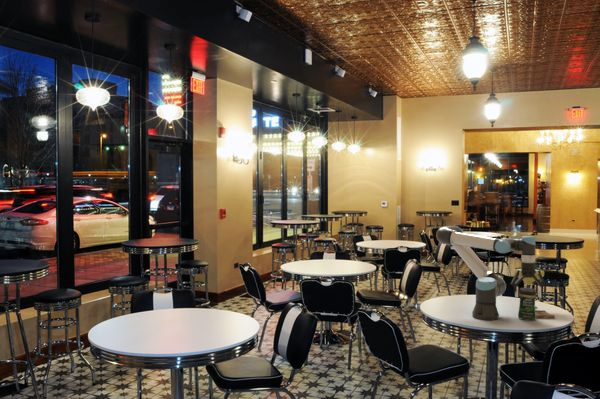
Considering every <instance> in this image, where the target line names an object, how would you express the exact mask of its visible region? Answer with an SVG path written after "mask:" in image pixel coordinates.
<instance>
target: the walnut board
mask: <svg viewBox="0 0 600 399" xmlns="http://www.w3.org/2000/svg"><path fill="white" fill-rule="evenodd" d="M535 314H536V319H556V318H555V315H554V314H550V313H549V312H547V311H546V310H540V309H539V310H537V309H535Z"/></svg>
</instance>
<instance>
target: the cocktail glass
mask: <svg viewBox="0 0 600 399" xmlns="http://www.w3.org/2000/svg"><path fill="white" fill-rule="evenodd" d="M521 269H522V267H516V268H514V275H515V274H516V270H521ZM536 270H540V271H541V275H542V277H544V276H545V270H544V269H542V268H536V267H535V271H536ZM521 275H522V273H520V274H519V276H518V278H519V277H520V276H521ZM534 275H535V276H536V278H537V279H538V280H539V281H540V279H539V277H538V274H537V273H535V274H534ZM522 281H524V282H525V283H526V285H527V286H528V287H527V288H530V286H531V285H532V284H533V282H536V281H535V280H534V279H533V278H529V277H528V278H526V277H525V278H523V280H522ZM537 309H538V307H537V306H536V305H535V310H537Z"/></svg>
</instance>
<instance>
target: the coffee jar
mask: <svg viewBox="0 0 600 399" xmlns="http://www.w3.org/2000/svg"><path fill="white" fill-rule="evenodd" d="M518 298H519V307H518V315H517V317H518V319H520V320H525V321H535V320H536V319H537V318H536V314H535V310H536V309H535V306H536V298H537V291H536V289H535V288H530V287H529V288H528V287H520V288H519V290H518Z"/></svg>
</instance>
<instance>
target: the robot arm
mask: <svg viewBox="0 0 600 399" xmlns="http://www.w3.org/2000/svg"><path fill="white" fill-rule="evenodd" d="M435 233H436V234H435V237H436V240H437V241H438V242H439V243H440V244H442V245H448V247H449V248H450V250H454V251H455V253H457V254H458V256H459V257H460V258H461V259H462V261H463V262H464V263H465V264H466V265H467V267H468V268H469V269H470V270H471V271H472V273H473V274H474V275H475V277H476V278H477V279H476V280H475V304H474V306H473V310H472V314H471V315H472V317H473V318H475V319H478V320H484V321H496V320H499V319H500V314H499V310H498V307H497V297H500V296H501V295H503V294H505V292H506V288H507V283H506V282H505V280H504V279H503V278H502V277H501V276H498V275H497V274H496V272H494V271H491V270H489V268H488V267H487V266H486V265H485V264H484V262H483V261H482V260H481V259H480V258H479V256H478V255H477V254H476V252H474V250H473V249H472V248H474V249H475V248H476V249H482V250H488V251H493V252H497V253H499V254H507V253H509V252H520V253H521V261H522V262H521V268H522V269H521V270H516V274H515V273H514V276H513V278H512V280H511V281H510V283H509V284H510V285H511V286H512V287H513V292H514V297H515V298H517V299H518V298H519V285H520V283H521V282H522V281H524V280H523V278H525V277H526V278H528V277H529V278H533V279H534V280H535V281H534V282H536V283H537V284H538V286H537V298H540V299H541V298H542V293H543V289H544V287H545V286H547V283H546V281H545V280H544V278H543V277H544V276H543V277H542V275H541V271H540V270H536V271H535V268H536V237H534V236H531V235H523V236H522V237H521V238H509V237H505V238H493V237H489V236H482V235H476V234H470V233H465V232H463V230H462V228H460V227H459V226H457V225H453V224H452V225H451V224H450V225H447V226H446V225H445V226H442V227H439V228H438V229H437V231H436V232H435ZM520 273H522V275H521V276H520V277H518V276H519V274H520ZM535 273H537V274H538V277H539V280H538V279H537V278H536V276H535V275H534V274H535Z"/></svg>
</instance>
